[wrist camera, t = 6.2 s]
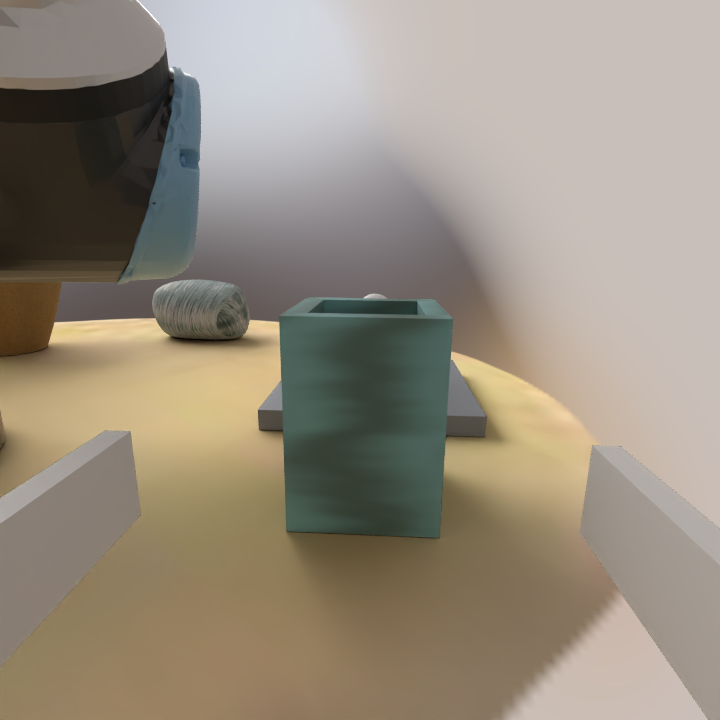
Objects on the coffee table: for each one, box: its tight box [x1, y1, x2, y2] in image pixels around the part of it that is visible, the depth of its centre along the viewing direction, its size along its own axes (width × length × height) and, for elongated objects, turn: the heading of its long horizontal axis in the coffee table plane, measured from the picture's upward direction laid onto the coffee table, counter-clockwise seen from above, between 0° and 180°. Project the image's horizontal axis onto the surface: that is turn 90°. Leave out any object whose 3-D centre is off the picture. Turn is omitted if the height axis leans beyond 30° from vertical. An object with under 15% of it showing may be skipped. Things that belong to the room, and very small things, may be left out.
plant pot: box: [0, 282, 62, 356], centre depth 53 cm, size 15×15×16 cm
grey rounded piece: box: [152, 280, 250, 340], centre depth 63 cm, size 14×10×10 cm
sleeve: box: [279, 297, 453, 538], centre depth 23 cm, size 7×7×10 cm
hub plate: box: [258, 294, 487, 437], centre depth 38 cm, size 16×16×9 cm
